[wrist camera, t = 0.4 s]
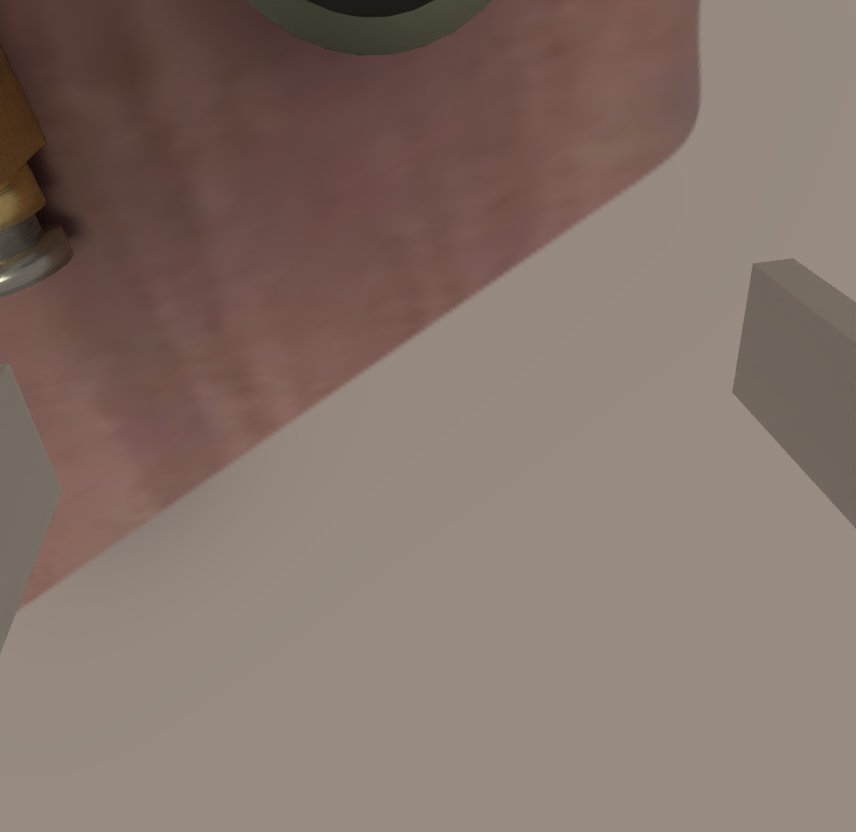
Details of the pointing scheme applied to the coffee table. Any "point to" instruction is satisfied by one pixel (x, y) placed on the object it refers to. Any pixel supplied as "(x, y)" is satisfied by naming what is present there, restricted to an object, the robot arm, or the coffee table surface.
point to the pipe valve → (23, 196)
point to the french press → (369, 22)
